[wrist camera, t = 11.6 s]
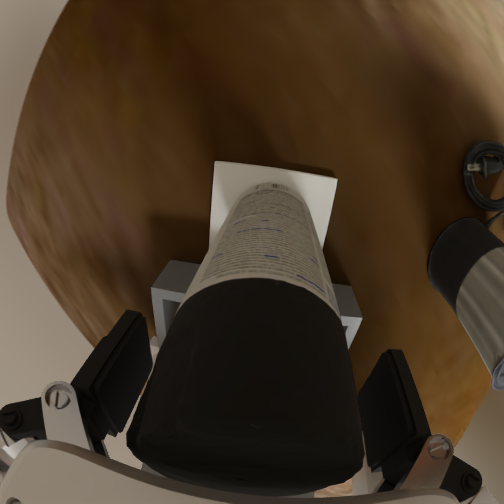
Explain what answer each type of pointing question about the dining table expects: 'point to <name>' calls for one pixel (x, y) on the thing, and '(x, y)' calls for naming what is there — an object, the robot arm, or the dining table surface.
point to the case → (175, 287)
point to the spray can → (255, 363)
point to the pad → (246, 175)
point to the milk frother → (475, 265)
